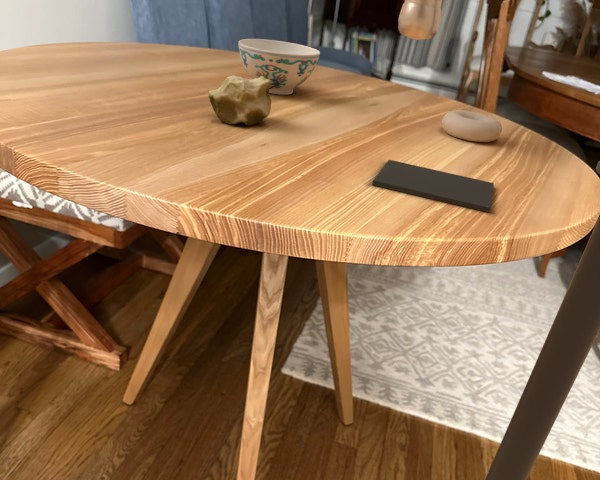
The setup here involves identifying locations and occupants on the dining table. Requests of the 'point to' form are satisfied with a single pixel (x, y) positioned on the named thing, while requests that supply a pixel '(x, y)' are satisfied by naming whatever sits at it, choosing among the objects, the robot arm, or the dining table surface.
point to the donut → (471, 126)
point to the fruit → (242, 100)
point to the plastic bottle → (420, 18)
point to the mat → (435, 185)
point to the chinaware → (278, 62)
